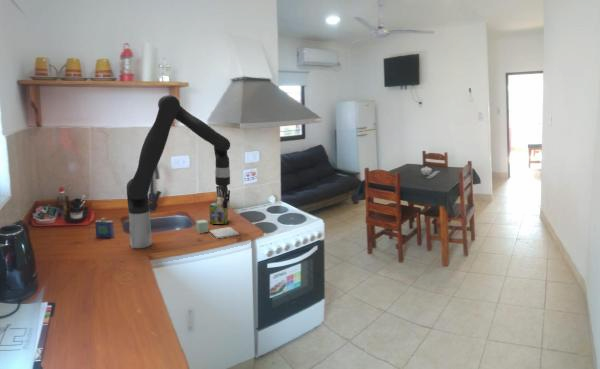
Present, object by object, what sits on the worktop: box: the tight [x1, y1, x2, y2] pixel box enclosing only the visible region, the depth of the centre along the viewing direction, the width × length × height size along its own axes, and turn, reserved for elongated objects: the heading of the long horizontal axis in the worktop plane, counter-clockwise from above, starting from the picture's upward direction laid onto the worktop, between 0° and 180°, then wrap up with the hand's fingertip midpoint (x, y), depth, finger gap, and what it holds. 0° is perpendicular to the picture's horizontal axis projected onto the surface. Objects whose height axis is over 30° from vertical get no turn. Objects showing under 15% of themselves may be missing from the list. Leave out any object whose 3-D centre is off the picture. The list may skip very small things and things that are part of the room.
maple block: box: [216, 196, 231, 210], centre depth 194 cm, size 5×5×6 cm
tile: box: [208, 226, 240, 239], centre depth 198 cm, size 12×12×1 cm
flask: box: [94, 217, 115, 240], centre depth 187 cm, size 9×3×11 cm, turn 87°
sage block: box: [195, 219, 209, 234], centre depth 200 cm, size 5×5×6 cm
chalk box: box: [208, 198, 229, 225], centre depth 215 cm, size 9×9×15 cm
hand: (223, 206), depth 195 cm, fingers closed on maple block, 5 cm apart
